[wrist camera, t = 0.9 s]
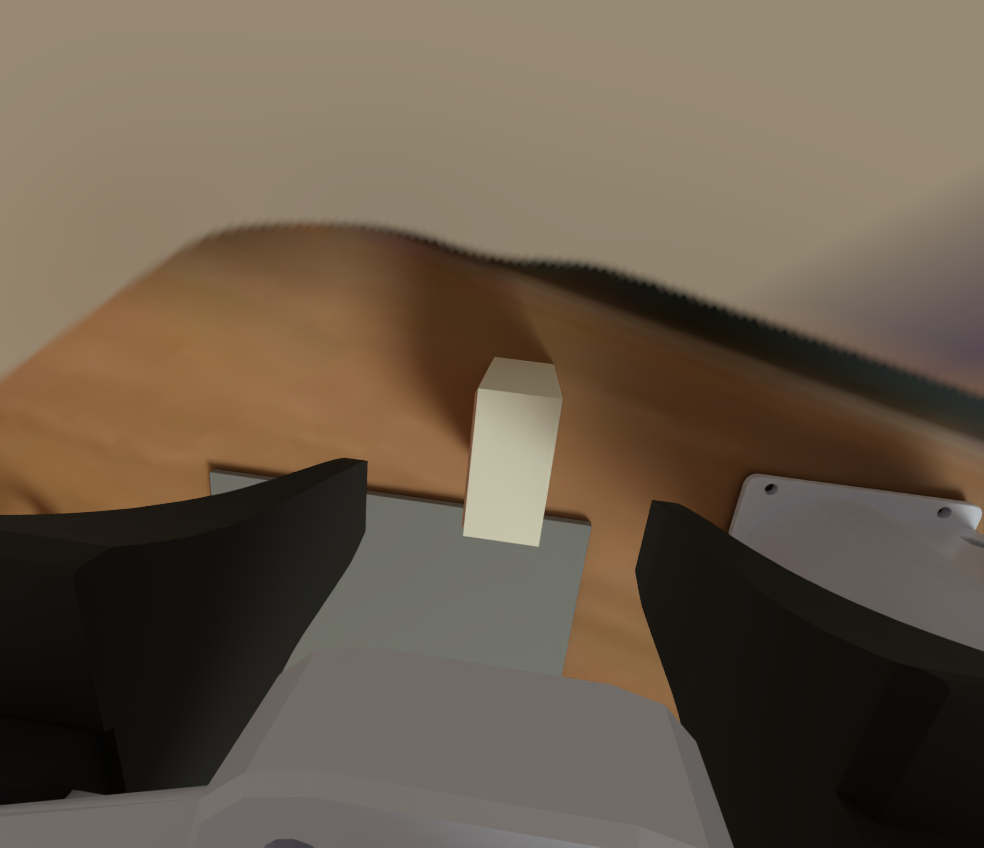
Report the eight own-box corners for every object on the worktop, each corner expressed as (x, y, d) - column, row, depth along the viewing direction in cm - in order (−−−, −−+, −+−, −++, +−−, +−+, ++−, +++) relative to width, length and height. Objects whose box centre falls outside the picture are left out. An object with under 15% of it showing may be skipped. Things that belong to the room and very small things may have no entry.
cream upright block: (553, 364, 19) (562, 399, 13) (537, 473, 21) (538, 546, 15) (492, 356, 19) (474, 387, 13) (480, 465, 21) (460, 535, 15)
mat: (590, 521, 21) (591, 526, 21) (548, 730, 25) (549, 737, 25) (215, 468, 22) (209, 472, 21) (232, 678, 26) (227, 684, 25)
